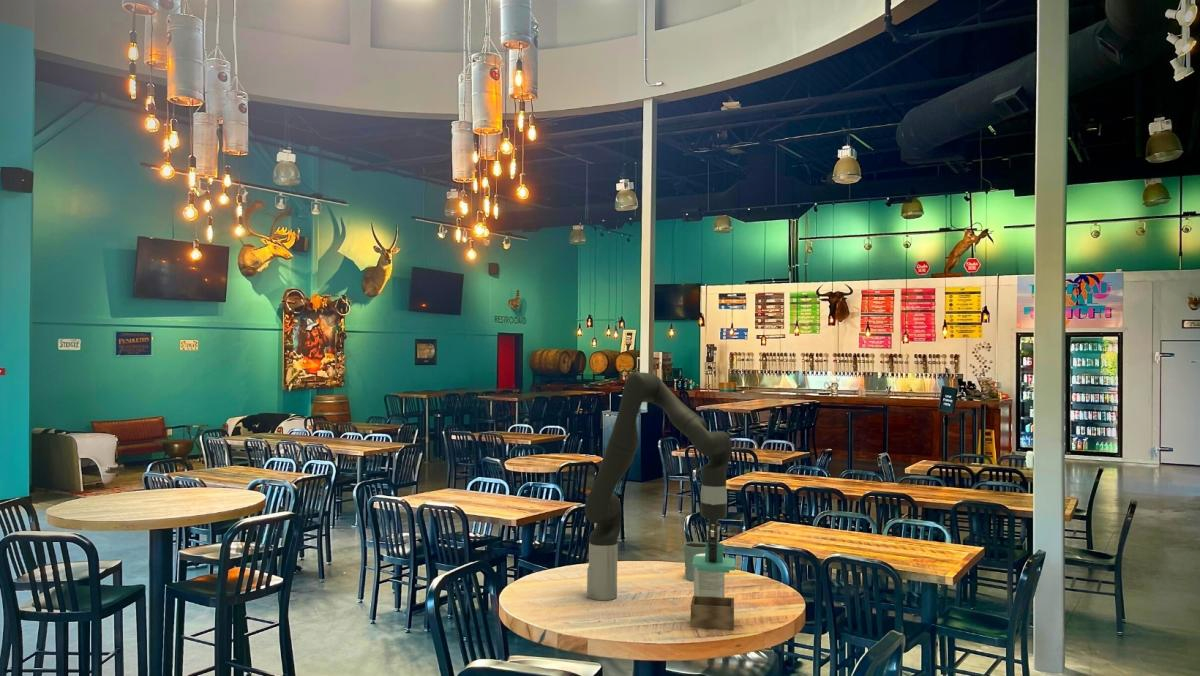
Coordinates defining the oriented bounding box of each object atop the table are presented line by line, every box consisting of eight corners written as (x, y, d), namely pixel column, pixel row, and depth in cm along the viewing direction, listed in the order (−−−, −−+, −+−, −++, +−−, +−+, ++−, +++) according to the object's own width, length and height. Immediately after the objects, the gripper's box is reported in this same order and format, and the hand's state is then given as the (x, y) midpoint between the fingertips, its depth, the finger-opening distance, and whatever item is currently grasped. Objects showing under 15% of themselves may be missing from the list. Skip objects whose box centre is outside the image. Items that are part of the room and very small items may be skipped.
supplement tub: (730, 604, 259) (731, 557, 259) (707, 609, 254) (707, 561, 254) (710, 597, 267) (710, 551, 267) (687, 601, 262) (687, 555, 262)
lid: (691, 571, 234) (692, 545, 234) (693, 562, 244) (694, 538, 244) (734, 574, 232) (735, 549, 232) (734, 566, 242) (735, 541, 242)
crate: (690, 630, 234) (690, 605, 234) (692, 619, 244) (692, 595, 244) (733, 632, 232) (733, 607, 232) (733, 621, 242) (734, 597, 242)
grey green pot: (677, 578, 290) (677, 543, 290) (696, 573, 297) (696, 539, 297) (699, 584, 282) (700, 548, 283) (718, 579, 289) (718, 544, 290)
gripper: (701, 496, 246) (701, 554, 246) (699, 504, 232) (698, 566, 232) (727, 497, 245) (726, 555, 245) (726, 505, 231) (725, 567, 231)
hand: (712, 560), depth 238 cm, fingers closed on lid, 3 cm apart
